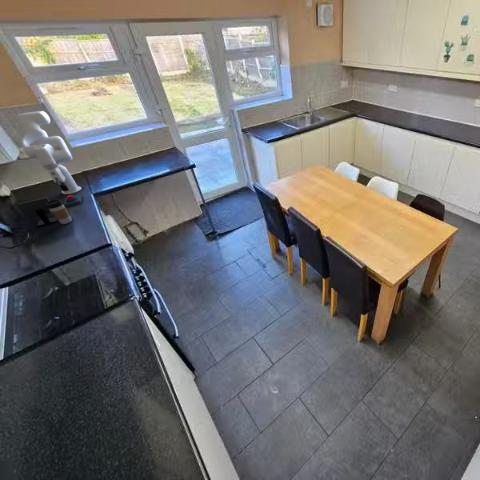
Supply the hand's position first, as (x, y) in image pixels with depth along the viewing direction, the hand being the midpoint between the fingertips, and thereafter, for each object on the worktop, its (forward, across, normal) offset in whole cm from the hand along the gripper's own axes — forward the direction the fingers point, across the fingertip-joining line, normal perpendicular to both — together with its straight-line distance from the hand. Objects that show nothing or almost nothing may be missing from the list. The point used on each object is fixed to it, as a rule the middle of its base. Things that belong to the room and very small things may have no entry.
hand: (66, 190), depth 194 cm
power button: (+6, +1, 0) cm, 6 cm away
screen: (+4, -22, +13) cm, 26 cm away
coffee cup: (+11, -29, +3) cm, 31 cm away
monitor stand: (+10, -22, +13) cm, 28 cm away
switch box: (+10, +1, 0) cm, 10 cm away
